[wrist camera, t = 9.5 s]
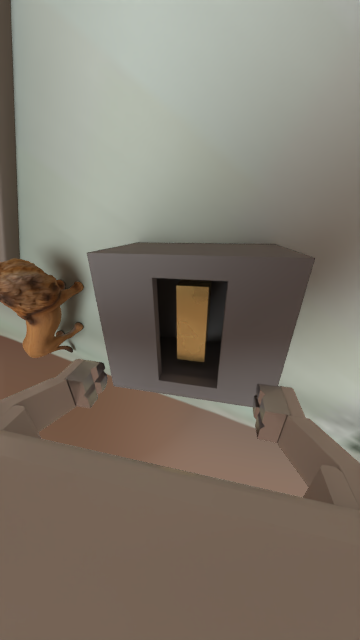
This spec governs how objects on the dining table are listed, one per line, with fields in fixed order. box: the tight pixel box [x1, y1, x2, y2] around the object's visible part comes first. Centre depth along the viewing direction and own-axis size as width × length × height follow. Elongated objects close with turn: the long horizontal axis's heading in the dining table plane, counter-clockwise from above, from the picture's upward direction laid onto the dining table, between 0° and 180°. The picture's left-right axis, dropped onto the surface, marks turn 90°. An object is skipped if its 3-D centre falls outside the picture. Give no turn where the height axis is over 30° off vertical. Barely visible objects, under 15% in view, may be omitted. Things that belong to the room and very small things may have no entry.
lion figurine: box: [0, 258, 84, 358], centre depth 23 cm, size 15×5×9 cm, turn 172°
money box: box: [87, 242, 315, 407], centre depth 19 cm, size 12×14×9 cm
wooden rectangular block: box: [176, 279, 212, 362], centre depth 19 cm, size 7×2×6 cm, turn 0°
